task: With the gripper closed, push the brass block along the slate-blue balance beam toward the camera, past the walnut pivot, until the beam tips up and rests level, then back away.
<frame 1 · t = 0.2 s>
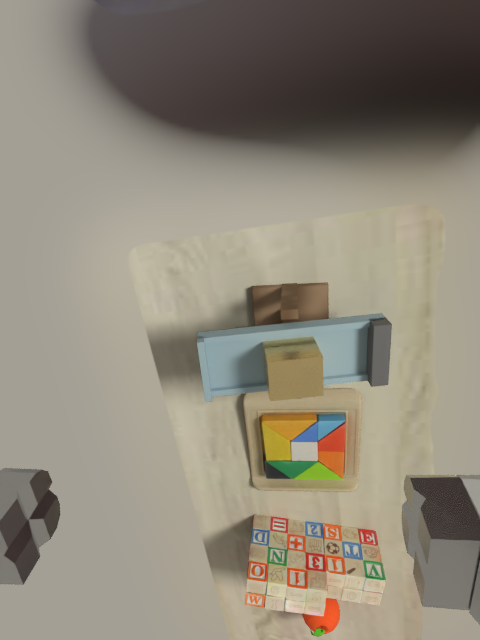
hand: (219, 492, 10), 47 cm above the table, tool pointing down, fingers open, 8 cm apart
beam: (293, 358, 51), point 10 cm above the table, hinge at -9.6°, touching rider
clementine: (318, 592, 82), on the table
stack of blocks: (311, 532, 76), on the table
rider: (288, 357, 51), point 9 cm above the table, tilted 10°, touching beam
pivot stand: (291, 325, 60), on the table
wooden puzzle: (302, 436, 68), on the table
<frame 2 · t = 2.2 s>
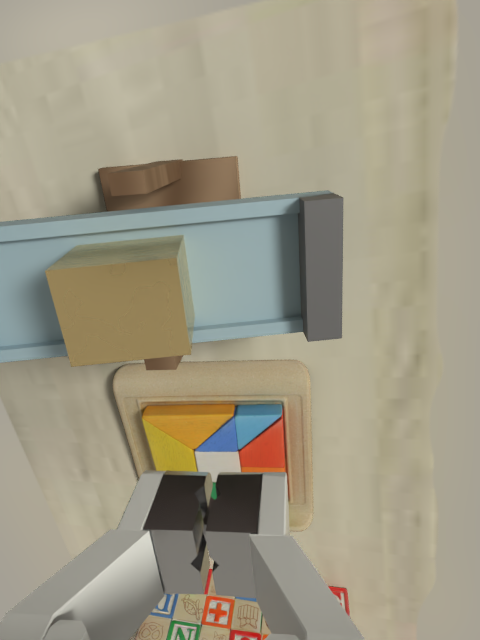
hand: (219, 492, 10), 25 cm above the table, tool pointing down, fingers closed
beam: (146, 283, 25), point 10 cm above the table, hinge at -9.6°, touching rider
stack of blocks: (250, 589, 50), on the table
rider: (138, 282, 25), point 9 cm above the table, tilted 10°, touching beam
pivot stand: (180, 243, 33), on the table
wooden puzzle: (221, 441, 42), on the table
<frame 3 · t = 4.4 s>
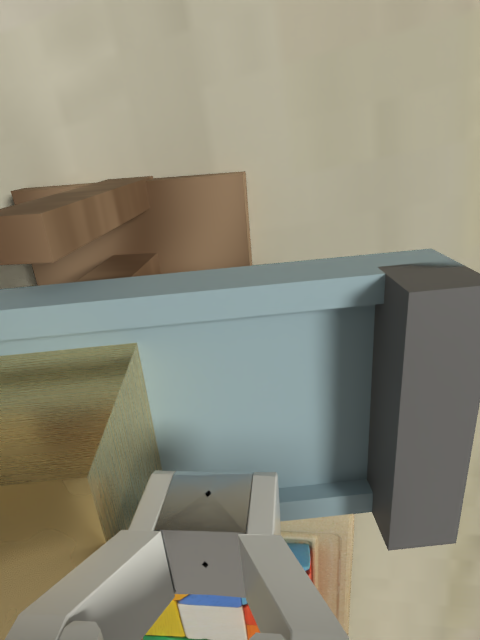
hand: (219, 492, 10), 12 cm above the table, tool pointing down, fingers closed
beam: (62, 435, 12), point 10 cm above the table, hinge at -9.6°, touching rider
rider: (49, 428, 13), point 9 cm above the table, tilted 10°, touching beam, gripper
pivot stand: (153, 308, 21), on the table
wooden puzzle: (217, 572, 29), on the table
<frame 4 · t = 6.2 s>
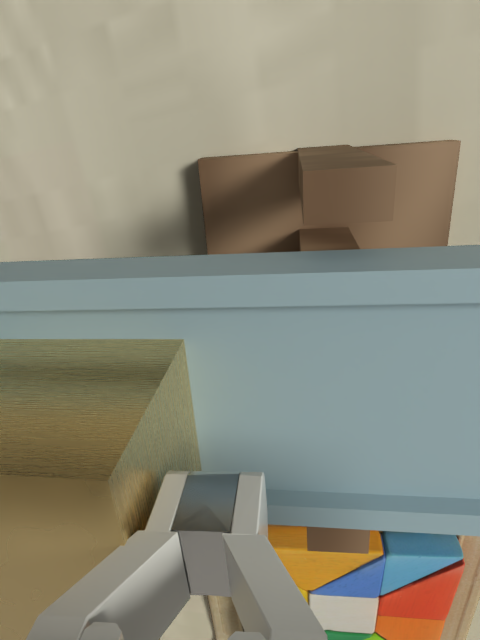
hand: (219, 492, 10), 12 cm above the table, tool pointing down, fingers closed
beam: (343, 414, 11), point 10 cm above the table, hinge at 1.1°, touching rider
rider: (97, 413, 13), point 9 cm above the table, touching beam, gripper
pivot stand: (321, 287, 20), on the table
wooden puzzle: (334, 562, 29), on the table
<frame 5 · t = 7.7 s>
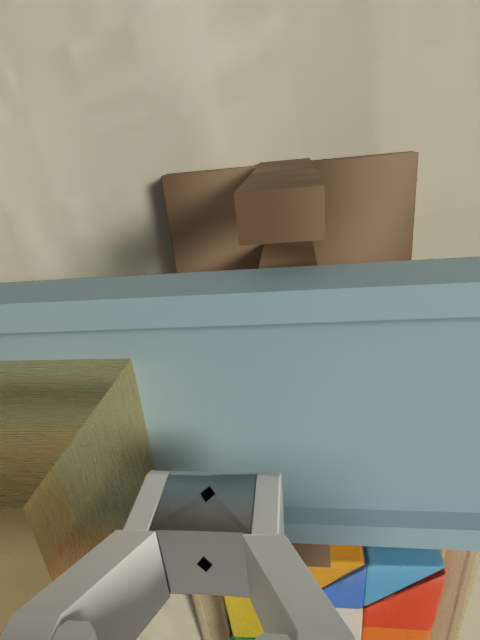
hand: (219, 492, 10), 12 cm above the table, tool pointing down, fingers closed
beam: (290, 430, 11), point 10 cm above the table, hinge at 0.9°, touching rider
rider: (53, 432, 13), point 9 cm above the table, touching beam
pivot stand: (291, 298, 20), on the table
wooden puzzle: (321, 572, 29), on the table
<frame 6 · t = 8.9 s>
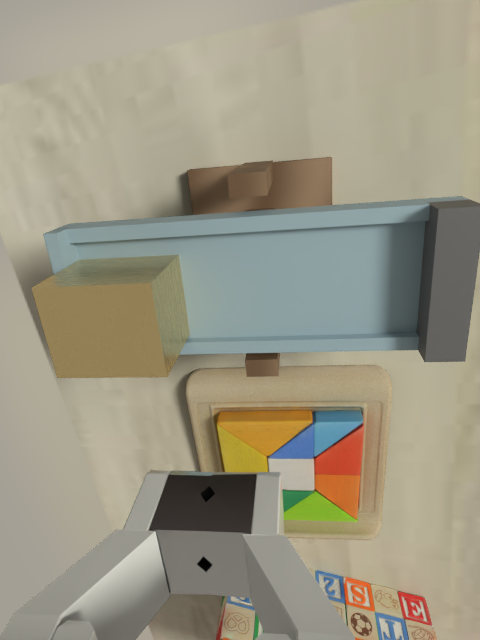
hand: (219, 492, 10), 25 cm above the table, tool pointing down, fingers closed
beam: (253, 288, 24), point 10 cm above the table, hinge at 0.9°, touching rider
stack of blocks: (321, 587, 48), on the table
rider: (136, 297, 26), point 9 cm above the table, touching beam
pivot stand: (264, 246, 33), on the table
wooden puzzle: (289, 448, 41), on the table
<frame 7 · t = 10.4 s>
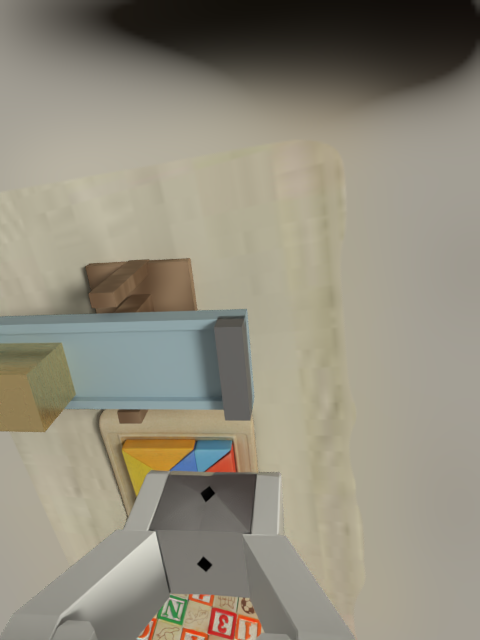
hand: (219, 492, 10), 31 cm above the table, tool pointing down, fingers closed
beam: (113, 366, 35), point 10 cm above the table, hinge at 0.9°, touching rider
stack of blocks: (226, 575, 59), on the table
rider: (36, 369, 36), point 9 cm above the table, touching beam
pivot stand: (149, 318, 43), on the table
wooden puzzle: (187, 466, 52), on the table
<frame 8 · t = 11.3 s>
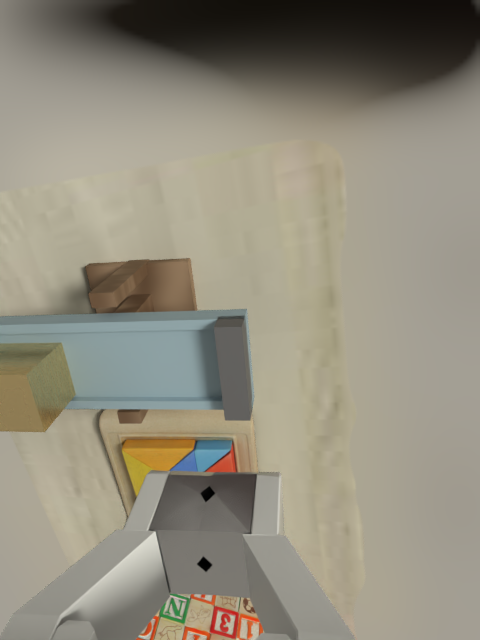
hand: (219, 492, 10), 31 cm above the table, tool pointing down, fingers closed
beam: (113, 366, 35), point 10 cm above the table, hinge at 0.9°, touching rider
stack of blocks: (228, 574, 58), on the table
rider: (36, 369, 36), point 9 cm above the table, touching beam
pivot stand: (149, 318, 43), on the table
wooden puzzle: (187, 466, 52), on the table
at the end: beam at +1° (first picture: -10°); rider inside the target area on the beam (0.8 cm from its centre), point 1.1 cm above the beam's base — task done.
